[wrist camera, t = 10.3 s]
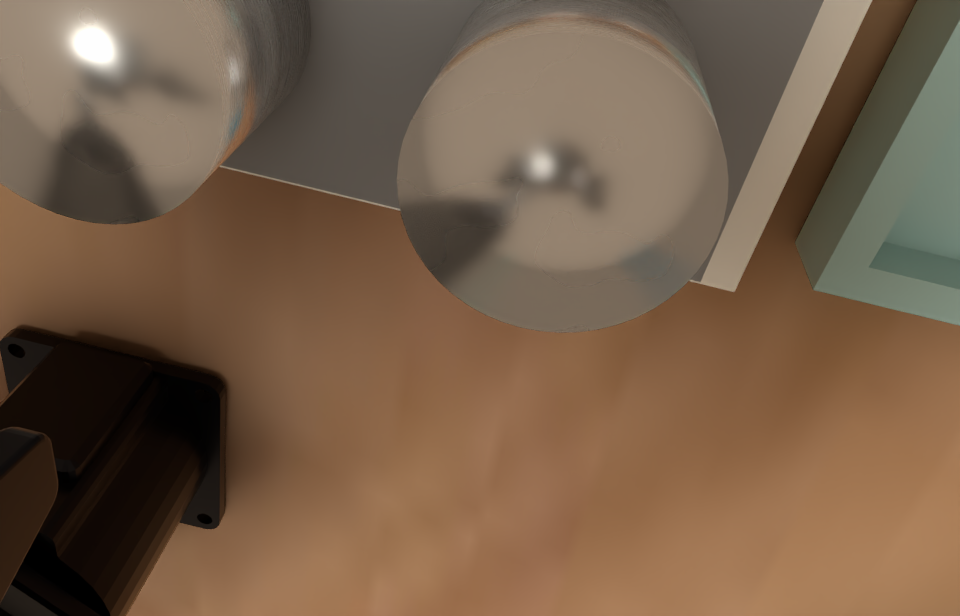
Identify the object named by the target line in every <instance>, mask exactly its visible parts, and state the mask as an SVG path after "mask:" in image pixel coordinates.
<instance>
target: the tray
mask: <svg viewBox="0 0 960 616" xmlns="http://www.w3.org/2000/svg"><path fill="white" fill-rule="evenodd" d="M795 244H796V247H797V250H798V252H799V255H800V257H801V260H802V262H803V265H804V268H805V270H806V273H807V275H808V278H809V281H810V283H811V286H812V288H813V290H816V291H820V292H824V293H828V294H832V295H836V296H840V297H844V298H848V299H853V300H857V301H861V302H865V303H869V304H873V305H877V306H881V307H885V308H889V309H894V310H898V311H902V312H906V313H910V314H914V315H918V316H922V317H926V318H931V319H935V320H939V321H943V322H947V323H951V324H955V325H959V326H960V0H917V2H916V4H915V6H914V8H913V10H912V11H911V13H910V15H909V17H908V19H907V21H906V23H905V25H904V27H903V29H902V31H901V33H900V35H899V37H898V39H897V41H896V43H895V45H894V47H893V49H892V51H891V53H890V55H889V57H888V59H887V61H886V63H885V65H884V67H883V69H882V71H881V73H880V75H879V77H878V79H877V81H876V83H875V85H874V87H873V89H872V91H871V93H870V95H869V97H868V99H867V101H866V103H865V105H864V107H863V109H862V111H861V112H860V114H859V116H858V118H857V120H856V122H855V124H854V126H853V128H852V130H851V132H850V134H849V136H848V138H847V140H846V142H845V144H844V146H843V148H842V150H841V152H840V154H839V156H838V158H837V160H836V162H835V164H834V166H833V168H832V170H831V172H830V174H829V176H828V178H827V180H826V182H825V184H824V186H823V188H822V190H821V192H820V194H819V196H818V198H817V200H816V202H815V204H814V206H813V208H812V210H811V212H810V214H809V215H808V217H807V219H806V221H805V223H804V225H803V227H802V229H801V231H800V233H799V235H798V237H797V239H796V241H795Z"/></svg>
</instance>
